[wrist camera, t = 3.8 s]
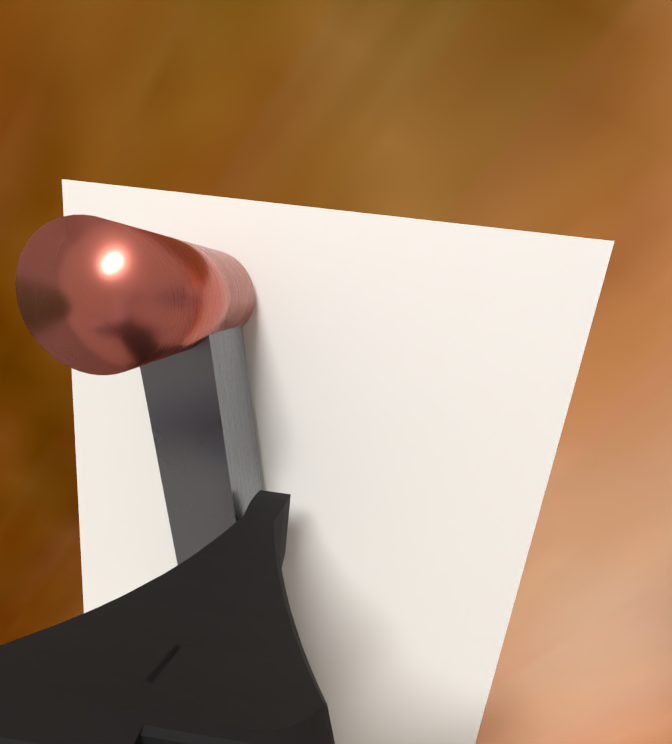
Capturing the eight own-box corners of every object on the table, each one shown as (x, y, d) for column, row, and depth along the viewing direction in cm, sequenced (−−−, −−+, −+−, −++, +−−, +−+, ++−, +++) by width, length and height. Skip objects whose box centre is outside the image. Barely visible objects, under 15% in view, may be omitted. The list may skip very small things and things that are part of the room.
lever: (321, 770, 15) (302, 1004, 10) (236, 767, 15) (177, 994, 10) (266, 244, 10) (183, 204, 6) (147, 254, 11) (-32, 224, 6)
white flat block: (582, 247, 12) (718, 220, 7) (451, 750, 16) (485, 916, 12) (97, 192, 12) (-51, 137, 8) (113, 693, 17) (28, 832, 13)
